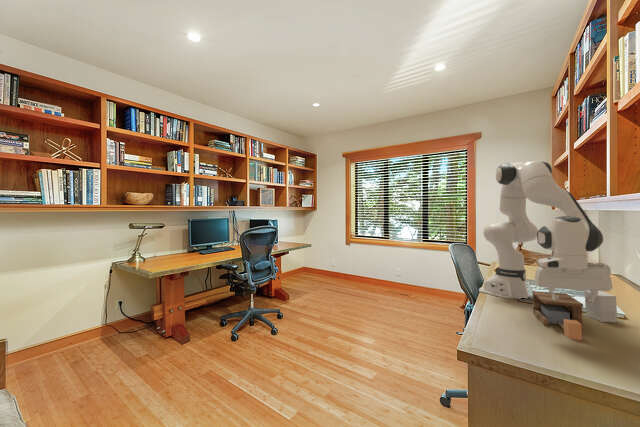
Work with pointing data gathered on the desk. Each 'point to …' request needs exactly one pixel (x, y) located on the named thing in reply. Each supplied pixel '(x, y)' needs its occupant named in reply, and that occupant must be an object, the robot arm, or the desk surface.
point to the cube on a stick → (563, 321)
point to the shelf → (564, 301)
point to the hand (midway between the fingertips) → (572, 301)
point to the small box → (602, 307)
